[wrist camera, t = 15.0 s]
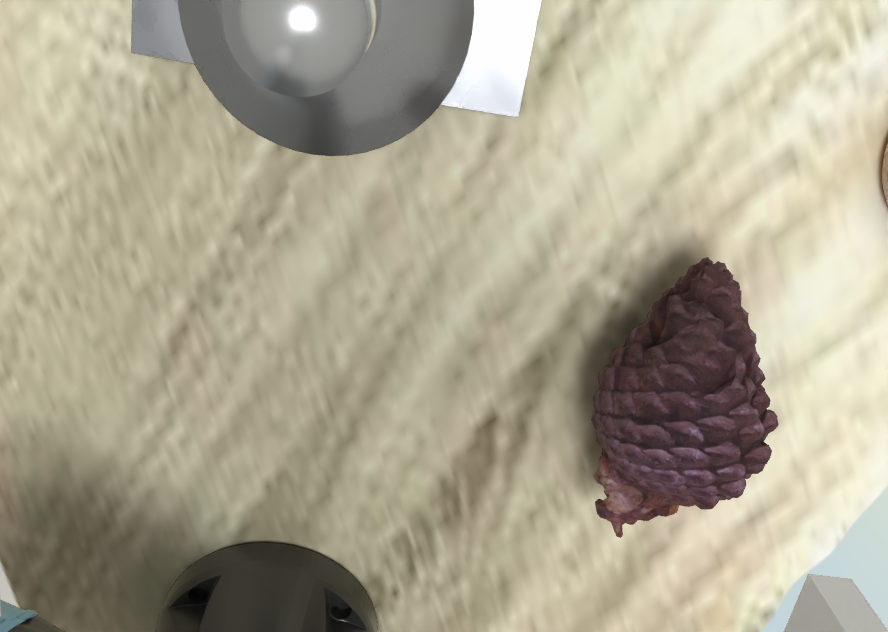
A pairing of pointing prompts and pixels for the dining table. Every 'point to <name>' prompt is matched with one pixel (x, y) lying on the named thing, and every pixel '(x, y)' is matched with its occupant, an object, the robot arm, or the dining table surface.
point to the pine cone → (682, 404)
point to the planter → (885, 173)
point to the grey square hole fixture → (345, 62)
